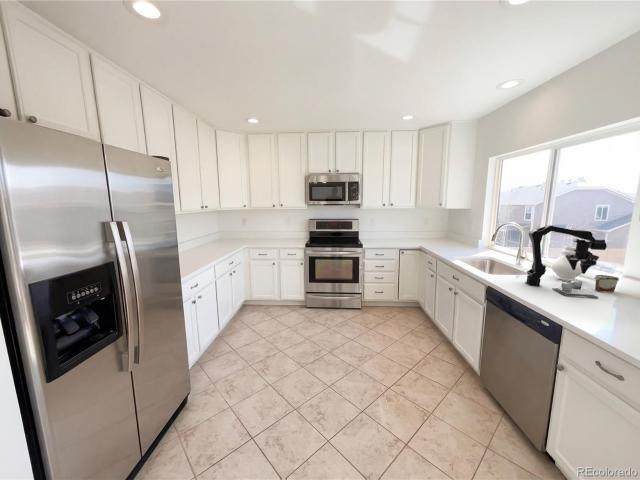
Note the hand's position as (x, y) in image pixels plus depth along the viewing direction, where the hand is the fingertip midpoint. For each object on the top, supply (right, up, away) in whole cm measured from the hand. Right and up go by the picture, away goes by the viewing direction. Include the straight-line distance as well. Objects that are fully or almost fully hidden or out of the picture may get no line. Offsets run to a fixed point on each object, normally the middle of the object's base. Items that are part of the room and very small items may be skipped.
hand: (578, 271), depth 164 cm
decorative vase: (+15, -9, +23) cm, 29 cm away
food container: (+15, -13, 0) cm, 20 cm away
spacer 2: (+2, -12, +3) cm, 13 cm away
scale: (-9, -14, -6) cm, 18 cm away
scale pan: (-9, -13, -6) cm, 17 cm away
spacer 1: (-14, -12, -5) cm, 19 cm away
